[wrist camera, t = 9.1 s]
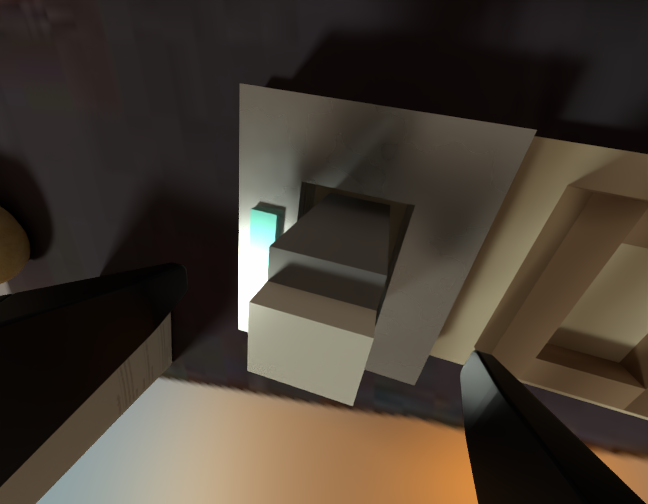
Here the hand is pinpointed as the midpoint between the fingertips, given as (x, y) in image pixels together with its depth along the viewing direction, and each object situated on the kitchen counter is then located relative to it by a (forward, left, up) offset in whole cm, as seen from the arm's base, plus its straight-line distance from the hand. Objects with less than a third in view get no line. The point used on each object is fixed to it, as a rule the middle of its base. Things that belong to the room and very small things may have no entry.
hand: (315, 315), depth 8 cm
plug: (0, 0, -6) cm, 6 cm away
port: (0, 0, -7) cm, 7 cm away
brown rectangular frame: (-12, 0, -7) cm, 14 cm away
